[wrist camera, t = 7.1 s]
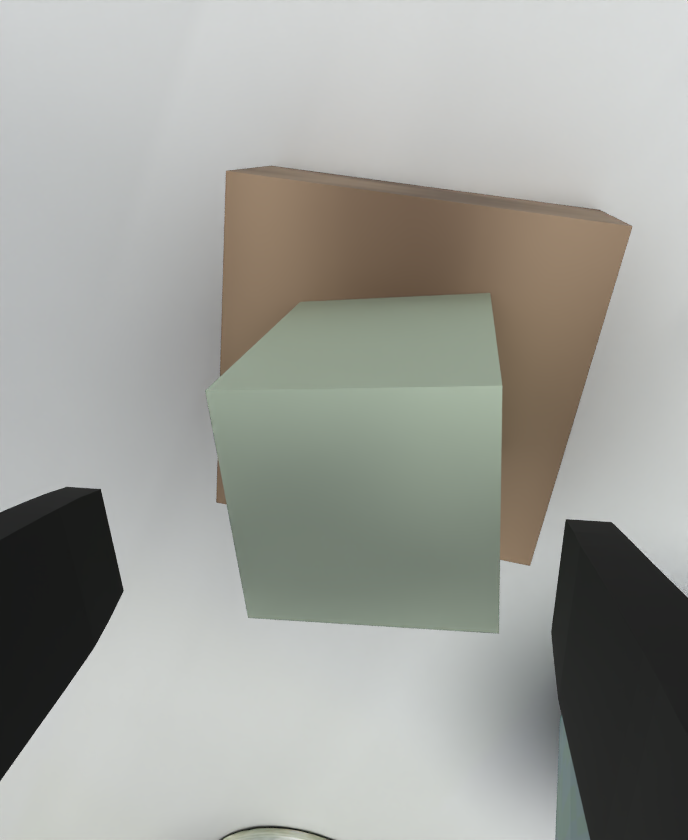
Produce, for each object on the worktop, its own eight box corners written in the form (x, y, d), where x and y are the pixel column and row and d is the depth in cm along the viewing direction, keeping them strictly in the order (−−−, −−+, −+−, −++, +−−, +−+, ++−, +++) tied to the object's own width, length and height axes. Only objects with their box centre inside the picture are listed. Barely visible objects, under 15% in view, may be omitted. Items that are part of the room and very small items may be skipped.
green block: (319, 465, 17) (248, 617, 11) (300, 302, 15) (205, 391, 10) (488, 466, 16) (498, 633, 10) (490, 292, 14) (502, 385, 9)
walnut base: (258, 442, 21) (216, 502, 18) (274, 165, 18) (225, 170, 14) (519, 491, 20) (529, 565, 17) (596, 208, 17) (632, 226, 13)
